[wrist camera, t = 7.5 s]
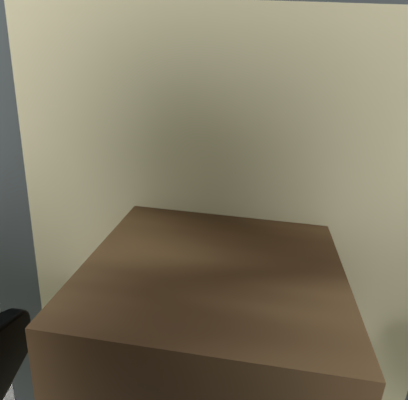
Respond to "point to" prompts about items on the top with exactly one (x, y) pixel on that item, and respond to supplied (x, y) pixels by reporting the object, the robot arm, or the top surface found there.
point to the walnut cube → (205, 316)
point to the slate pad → (206, 136)
